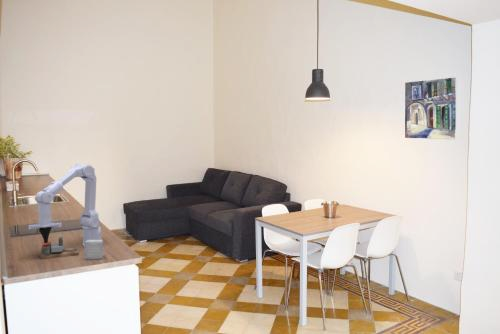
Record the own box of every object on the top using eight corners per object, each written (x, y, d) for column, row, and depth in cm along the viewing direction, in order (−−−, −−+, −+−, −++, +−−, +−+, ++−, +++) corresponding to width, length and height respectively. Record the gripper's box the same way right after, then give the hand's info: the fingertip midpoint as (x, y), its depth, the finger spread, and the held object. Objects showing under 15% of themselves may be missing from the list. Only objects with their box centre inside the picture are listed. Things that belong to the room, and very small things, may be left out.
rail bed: (79, 249, 212) (78, 239, 211) (78, 255, 203) (77, 244, 202) (42, 253, 206) (42, 243, 205) (40, 259, 197) (39, 248, 196)
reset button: (50, 242, 204) (50, 241, 204) (49, 244, 201) (49, 242, 200) (42, 243, 203) (42, 241, 202) (41, 245, 199) (41, 243, 199)
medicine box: (104, 256, 200) (103, 239, 199) (101, 259, 196) (100, 242, 195) (87, 256, 200) (87, 239, 199) (84, 259, 196) (83, 242, 195)
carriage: (63, 247, 208) (62, 236, 207) (62, 251, 201) (61, 239, 201) (52, 248, 206) (52, 237, 205) (51, 252, 199) (50, 240, 199)
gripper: (27, 218, 194) (28, 246, 195) (60, 215, 199) (61, 242, 200) (29, 215, 200) (30, 242, 202) (61, 213, 206) (62, 239, 207)
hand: (46, 242), depth 201 cm, fingers closed, pressing on reset button
